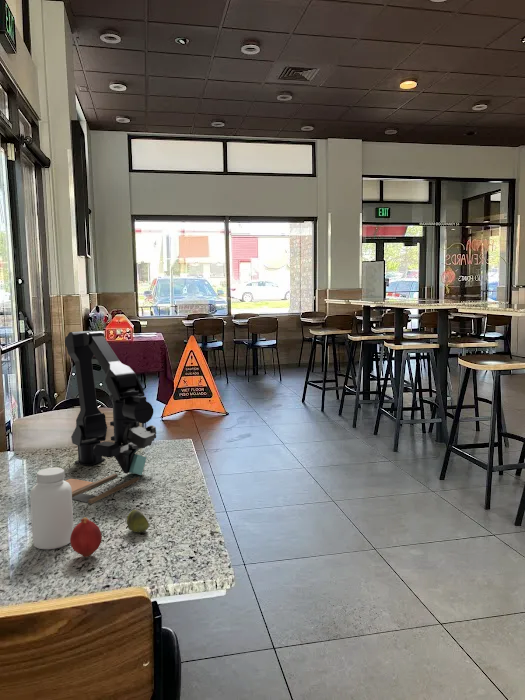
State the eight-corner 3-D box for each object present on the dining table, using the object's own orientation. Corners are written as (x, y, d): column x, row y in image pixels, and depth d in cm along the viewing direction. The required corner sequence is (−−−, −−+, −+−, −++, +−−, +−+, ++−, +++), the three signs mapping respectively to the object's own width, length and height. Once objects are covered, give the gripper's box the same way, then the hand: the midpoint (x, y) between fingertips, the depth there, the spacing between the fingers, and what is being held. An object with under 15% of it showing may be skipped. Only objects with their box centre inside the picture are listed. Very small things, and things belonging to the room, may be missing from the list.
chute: (65, 498, 139) (65, 495, 139) (114, 476, 155) (114, 473, 155) (91, 503, 136) (91, 500, 135) (139, 480, 152) (139, 477, 151)
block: (121, 470, 155) (126, 452, 156) (130, 473, 158) (135, 455, 159) (132, 472, 153) (137, 454, 154) (141, 475, 156) (146, 457, 158)
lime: (129, 527, 122) (129, 505, 121) (151, 527, 121) (151, 505, 121) (124, 536, 117) (123, 513, 117) (147, 536, 117) (146, 513, 116)
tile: (48, 490, 145) (47, 487, 145) (71, 481, 152) (71, 478, 152) (70, 495, 141) (70, 492, 141) (93, 485, 148) (93, 482, 148)
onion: (75, 550, 111) (73, 511, 110) (105, 548, 112) (103, 510, 111) (68, 564, 105) (65, 524, 105) (99, 563, 106) (97, 522, 105)
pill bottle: (82, 536, 118) (78, 467, 116) (56, 553, 110) (52, 479, 109) (51, 531, 120) (47, 463, 119) (24, 547, 113) (19, 475, 111)
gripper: (124, 428, 140) (127, 488, 141) (168, 412, 156) (170, 467, 158) (90, 423, 145) (93, 482, 146) (137, 409, 161) (139, 462, 163)
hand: (126, 473), depth 153 cm, fingers closed
